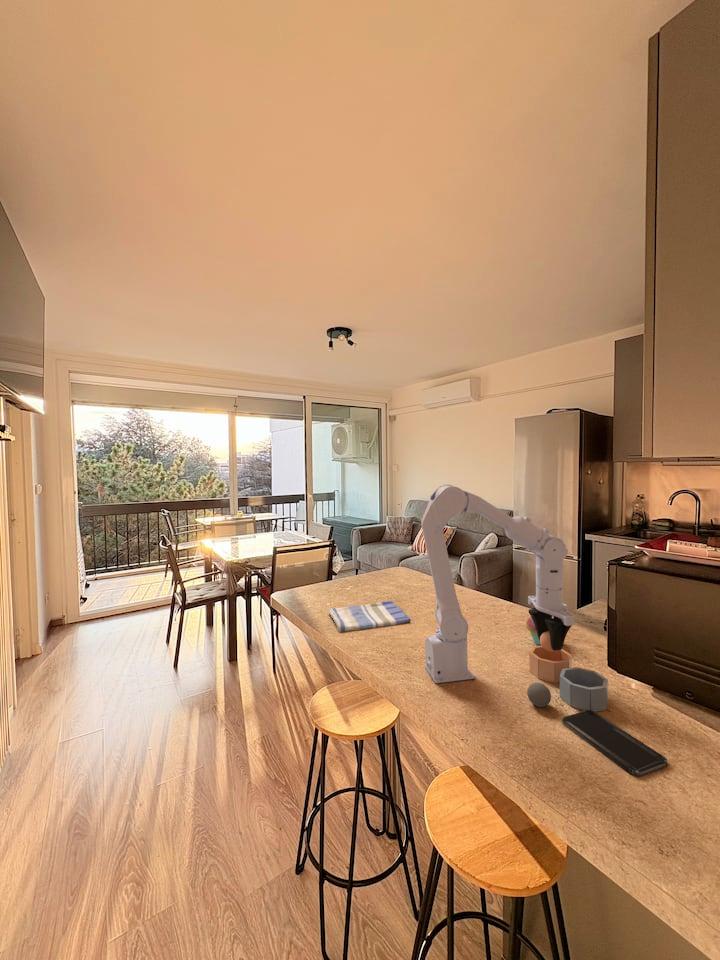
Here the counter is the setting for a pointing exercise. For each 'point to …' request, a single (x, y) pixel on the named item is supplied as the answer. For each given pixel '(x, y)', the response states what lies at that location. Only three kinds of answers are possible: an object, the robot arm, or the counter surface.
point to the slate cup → (584, 689)
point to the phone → (615, 743)
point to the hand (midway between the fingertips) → (550, 644)
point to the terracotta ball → (546, 641)
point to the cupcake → (533, 630)
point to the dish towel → (368, 616)
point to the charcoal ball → (539, 694)
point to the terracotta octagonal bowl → (548, 663)
